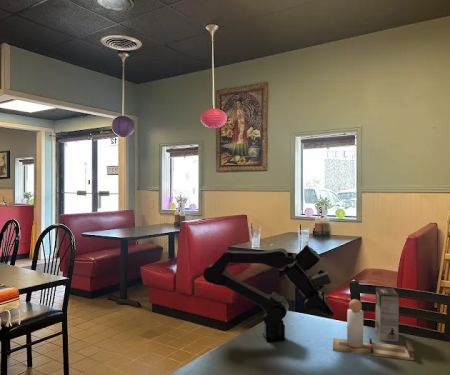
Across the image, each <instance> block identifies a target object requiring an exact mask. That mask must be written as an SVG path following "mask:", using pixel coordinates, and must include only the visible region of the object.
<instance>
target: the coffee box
mask: <svg viewBox="0 0 450 375" xmlns="http://www.w3.org/2000/svg"><path fill="white" fill-rule="evenodd" d="M399 306H400V295H399V294H398V292H397V291H396V289H395V288H394V287H378V286H377V287H375V317H374V318H375V324H374V326H375V327H374V329H375V332H376V334H377V337H378V339H379V340H380V341H387V342H397V341H398V342H399V320H400V319H399V315H400V314H399V312H400V307H399Z"/></svg>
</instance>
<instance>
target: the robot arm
mask: <svg viewBox="0 0 450 375" xmlns="http://www.w3.org/2000/svg"><path fill="white" fill-rule="evenodd" d="M321 261H322V257H321V256H320V255H319V253H318V252H317V251H316V250H315V249H313V248H312V247H310V246H309V245H308V244H306V245H304V247H303V248H302V249H301V250H300V251H299V252H298V253H295V252H294V253H293V252H290V251H287V250H286V249H285V248H282V247H279V248H273V249H268V250H265V251H252V250H251V251H249V250H247V251H246V250H245V251H244V250H227V251H225V252H223V253H222V255H221V257H219V258H218V259H217V260H216V261H215V262H214V263H212V264H210V265H209V266H207V267H206V268H205V269H203V273H202V275H203V279H204V280H205V281H206V283H208V284H212V285H215V286H219V287H224V288H227V289H229V290H230V291H233V292H235V293H236V294H238V295H240V296H242V297H243V298H245V299H247V300H249V301H251V302H253V303H255V304H256V305H259V307H261V309H263V311H264V312H265V314H264V315H263V317H262V319H263V332H262V337H263V338H264V340H265V342H268V343H269V342H270V343H271V342H283V341H286V339H285V336H286V325H285V324H284V320H283V319H284V318H285V317H286V316H287V313H288V311H289V308H290V306H289V302H288V301H287V300H286V299H285V296H283V295H280V294H278V293H277V292H275V291H273V292H272V293H271V294H268V293H265V292H264V291H262V290H259V289H258V288H256V287H254V286H252V285H250V284H249V283H247V282H245V281H242V280H241V279H239V278H237V277H235V276H233V275H232V274H231V273H230V272H229V271H228V270H227V267H228V266H229V264H233V263H234V264H261V265H266V266H268V267H271V268H277V269H278V279H282V278H283V277H284V276H285V277H286V278H287V280H288V281H289V282H291V284H292V285H293V286H294V289H295V290H296V291H297V292H298V291H299V292H300V293H301V295H303V299H304V304H303V307H304V309H305V310H306V311H307V312H308V313H310V312H311V311H312V310H313V309H315V310H318V311H319V312H323V313H324V314H326V315H329V316H331V317H332V316H333V315H335V313H334V310H333V309H332V307H331V305H330V303H329V302H328V300H327V298H326V290H323V291H320V290H321V289H322V288H323V289H324V288H325V286H326V285H330V284H331V283H332V278H331V276H330V273H329V271H327V270H324V269H323V268H320V269H318V271H317V274H316V275H314V276H312V275H311V274H307V273H306V271H310V270H311V269H312V268H313V267H315V266H316V265H317V264H318V263H319V262H321Z"/></svg>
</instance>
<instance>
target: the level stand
mask: <svg viewBox="0 0 450 375" xmlns="http://www.w3.org/2000/svg"><path fill="white" fill-rule="evenodd" d="M332 351H335V352H337V351H338V352H343V353H344V352H345V353H353V354H360V355H368V356H375V357H376V356H377V357H383V358H391V359H401V360H407V361H415V350H414V348H413V346H412V342H411V341H410V340H405V345H395V344H387V343H379V342H373V341H372V338H371V337H369V341H364V340H363V346H362V347H358V348H357V347H351V346H349V345H348V344H347V338H346V339H345V338H344V339H343V338H337V337H333V338H332Z"/></svg>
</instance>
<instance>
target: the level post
mask: <svg viewBox="0 0 450 375" xmlns="http://www.w3.org/2000/svg"><path fill="white" fill-rule="evenodd" d="M348 306H349V308H348V309H346V310H347V312H346V313H347V314H346V315H347V316H346V320H347V321H346V323H347V325H346V329H347V330H346V332H347V333H346V340H347V344H348V345H349V346H351V347H357V348H358V347H362V346H363V341H364V310H362V307H363V306H362V302H361V300H359V299H356V298H354V299H351V300H350V301H349V303H348Z"/></svg>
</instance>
